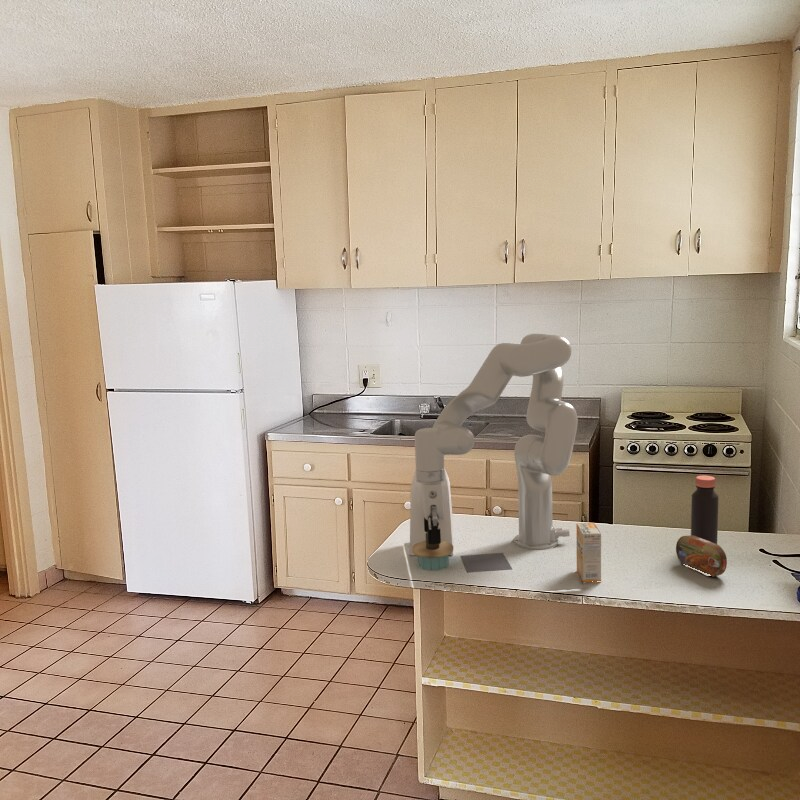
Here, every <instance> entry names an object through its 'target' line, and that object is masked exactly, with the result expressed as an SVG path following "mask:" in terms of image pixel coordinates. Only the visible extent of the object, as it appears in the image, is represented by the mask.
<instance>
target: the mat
mask: <svg viewBox="0 0 800 800" xmlns="http://www.w3.org/2000/svg"><path fill="white" fill-rule="evenodd" d="M459 556H460V558H461V561H462V563H463V564H462V565H463V566H464V568H465V571H466V573H481V572H493V571H494V572H495V571H496V572H497V571H510V570H511V571H512V570H513V568H512V565H511V564H510V562H509V560H508V559H507V557H506V556H505V554H504V552H494V553H493V552H492V553H480V554H465V555H459Z"/></svg>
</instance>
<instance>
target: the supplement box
mask: <svg viewBox="0 0 800 800" xmlns="http://www.w3.org/2000/svg"><path fill="white" fill-rule="evenodd" d="M576 571H577V574H578V575H579V577H580V578H581V581H583V582H592V581H593V582H597V581H601V582H602V533H601V531H600V530H599V528H598V526H597V525H596V524H595V522H578V523H576ZM583 582H582V583H583Z"/></svg>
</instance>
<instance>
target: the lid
mask: <svg viewBox="0 0 800 800" xmlns="http://www.w3.org/2000/svg"><path fill="white" fill-rule="evenodd" d="M412 552H413V553H414V554H415V555H414V556H417V557H418V556H421V557H427V558H436V557H443V556H446V555H448V556H450V555H449V554H451V553H452V552H453V553H454V549H453V545H452V544H451V543H449V542H446V541H441V543H440V544H429V543H428V532H427V533H426V541H422V542H419V543H416V544H415V545H413V547H412Z"/></svg>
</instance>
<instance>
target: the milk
mask: <svg viewBox="0 0 800 800" xmlns="http://www.w3.org/2000/svg"><path fill="white" fill-rule="evenodd" d="M444 475H445V481H444V482H441V485H442V496H443V512H444V519H443V520H441V519H440V518H439V525H440V535H441V541H446V542H449V543H451V544H452V545H453V550H454V547H455V537H454V520H453V508H452V506H453V505H452V495H451V494H452V492H451V483H450V478H449V475H448V473H447V470H446V468H445V467H444ZM409 511H410V512H409V513H410V516H409V517H410V518H409V556H416V555H415V554H414V553H413V552H412V547H413V545H415V544H416V543H419V542H422V541H426V533H427V532H425V531H424V517H425V516H424V513H423V509H422V500H421V483H418V482H417V481H416V469H415V470H414V473H413V478H412V481H411V487H410V507H409ZM448 556H454V551H453V552H452V553H451V554H449V555H448Z"/></svg>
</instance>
